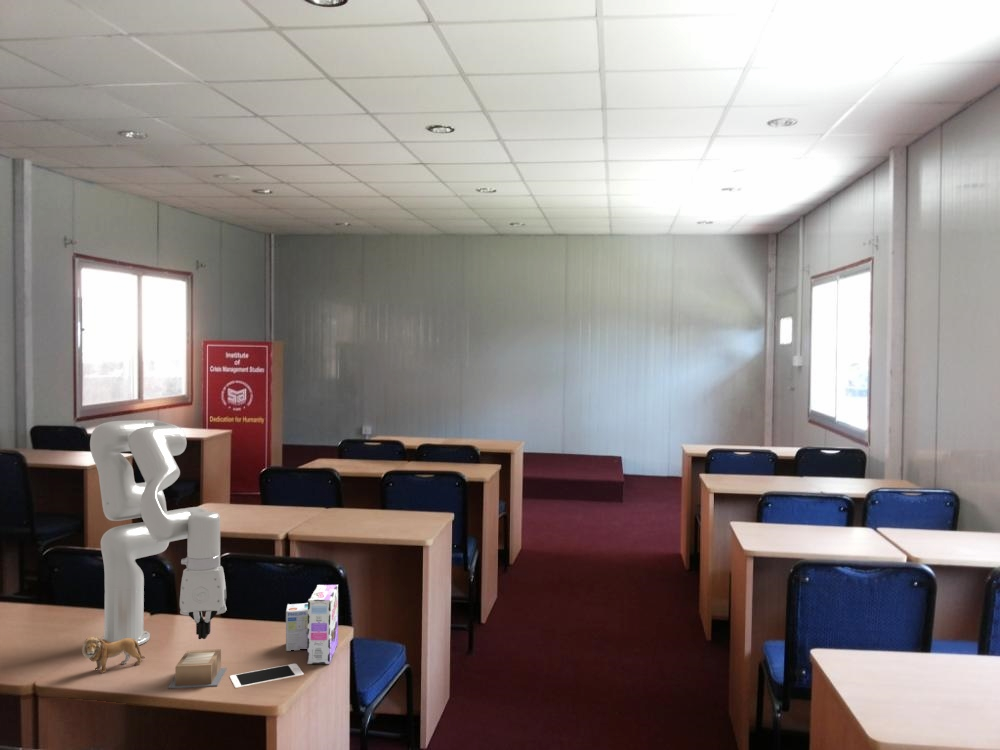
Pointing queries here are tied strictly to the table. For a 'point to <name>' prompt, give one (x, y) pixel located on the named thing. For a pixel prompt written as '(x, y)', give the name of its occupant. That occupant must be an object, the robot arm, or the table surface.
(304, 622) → the light bulb box
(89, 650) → the lion figurine
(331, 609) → the candy box
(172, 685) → the mat
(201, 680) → the tan wooden block
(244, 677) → the cell phone
